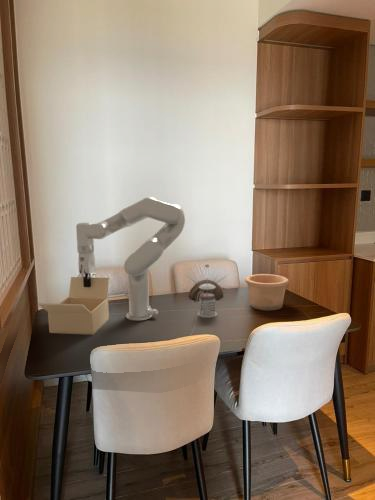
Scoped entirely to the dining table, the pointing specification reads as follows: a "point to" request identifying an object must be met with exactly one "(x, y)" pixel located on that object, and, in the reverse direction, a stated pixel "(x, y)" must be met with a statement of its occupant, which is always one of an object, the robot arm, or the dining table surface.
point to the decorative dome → (196, 290)
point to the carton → (80, 317)
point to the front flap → (64, 308)
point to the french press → (207, 301)
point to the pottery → (266, 291)
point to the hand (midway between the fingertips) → (87, 286)
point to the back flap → (89, 288)
